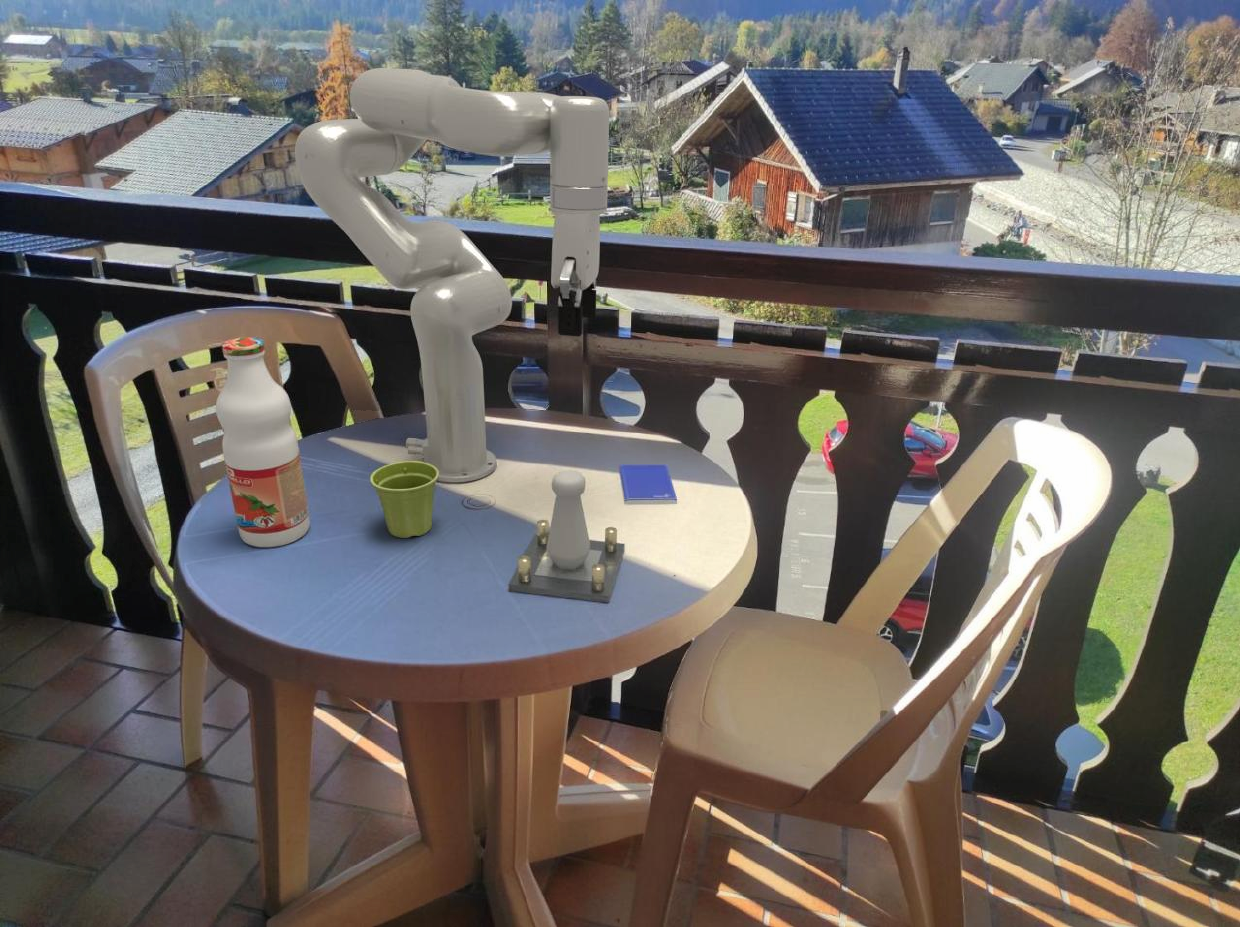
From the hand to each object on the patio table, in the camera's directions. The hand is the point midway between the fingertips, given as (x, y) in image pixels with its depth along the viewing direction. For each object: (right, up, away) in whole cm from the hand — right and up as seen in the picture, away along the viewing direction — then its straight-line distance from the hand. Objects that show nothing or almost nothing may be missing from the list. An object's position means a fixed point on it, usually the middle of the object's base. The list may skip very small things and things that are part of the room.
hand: (577, 325), depth 114 cm
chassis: (-1, -34, -5) cm, 34 cm away
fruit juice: (-43, -29, +1) cm, 52 cm away
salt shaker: (-1, -33, -5) cm, 33 cm away
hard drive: (+10, -24, +18) cm, 32 cm away
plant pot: (-25, -29, +4) cm, 38 cm away
